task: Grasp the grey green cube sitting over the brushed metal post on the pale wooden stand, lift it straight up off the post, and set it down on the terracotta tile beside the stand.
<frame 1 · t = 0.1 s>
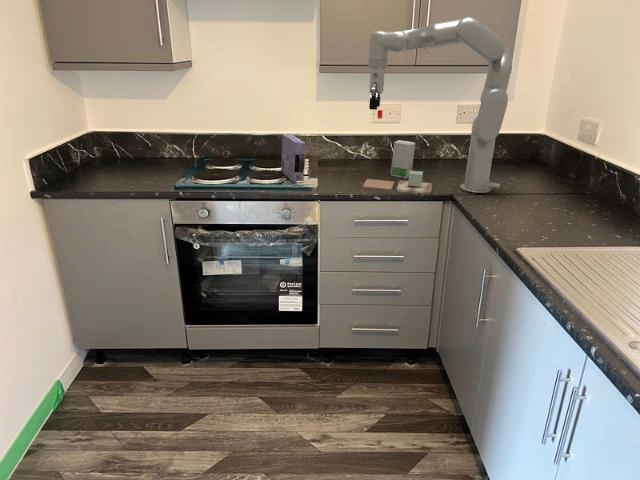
hand: (374, 107, 206), 31 cm above the worktop, tool pointing down, fingers open, 9 cm apart
skincare box: (401, 176, 227), on the worktop
grey green cube: (414, 184, 208), point 2 cm above the worktop, touching post stand
post stand: (414, 188, 209), on the worktop
terracotta tile: (378, 185, 212), on the worktop
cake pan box: (292, 178, 218), on the worktop
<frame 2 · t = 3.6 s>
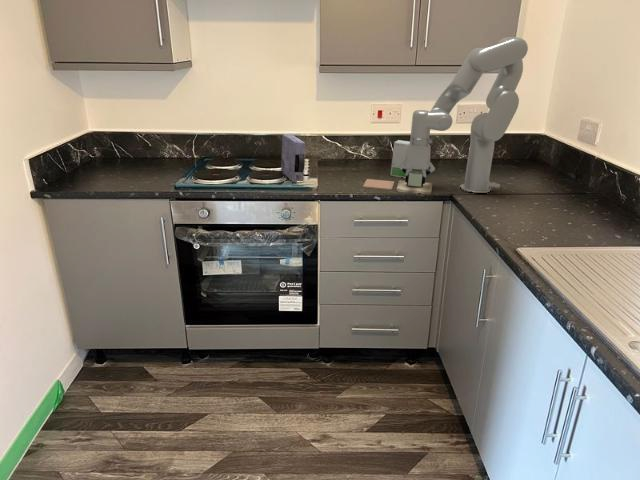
hand: (414, 184, 208), 2 cm above the worktop, tool pointing down, fingers closed on grey green cube, 5 cm apart
grey green cube: (414, 184, 208), point 2 cm above the worktop, touching gripper, post stand
everything else where it was.
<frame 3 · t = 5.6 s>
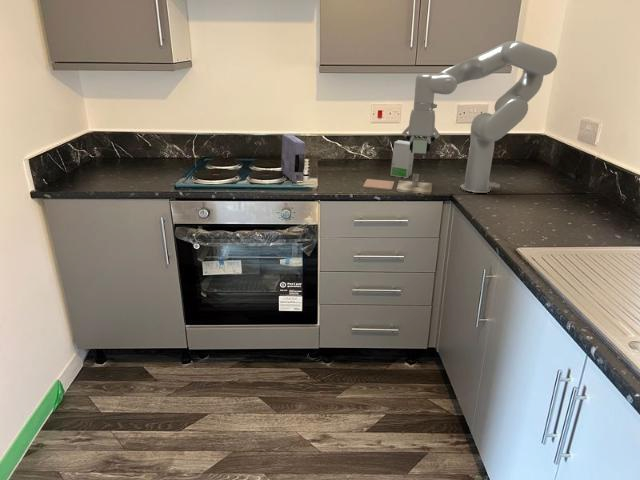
hand: (419, 151, 203), 15 cm above the worktop, tool pointing down, fingers closed on grey green cube, 5 cm apart
grey green cube: (419, 151, 203), point 16 cm above the worktop, touching gripper
everything else where it was.
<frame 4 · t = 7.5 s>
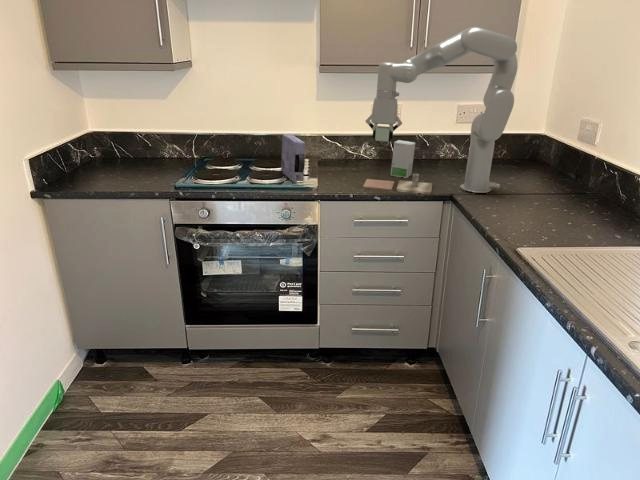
hand: (382, 140, 204), 19 cm above the worktop, tool pointing down, fingers closed on grey green cube, 5 cm apart
grey green cube: (382, 139, 204), point 19 cm above the worktop, touching gripper
everything else where it was.
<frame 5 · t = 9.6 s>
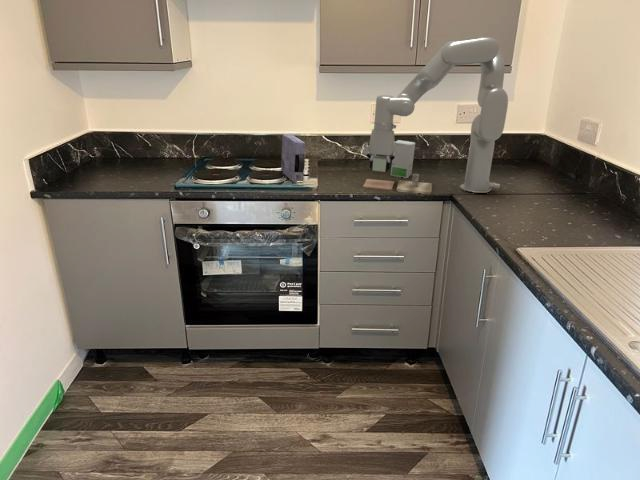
hand: (379, 170, 209), 7 cm above the worktop, tool pointing down, fingers closed on grey green cube, 5 cm apart
grey green cube: (379, 169, 209), point 7 cm above the worktop, touching gripper
everything else where it was.
when the fingers open (2 cm above the worktop, at t = 11.4 s): grey green cube drops 2 cm, resting on terracotta tile.
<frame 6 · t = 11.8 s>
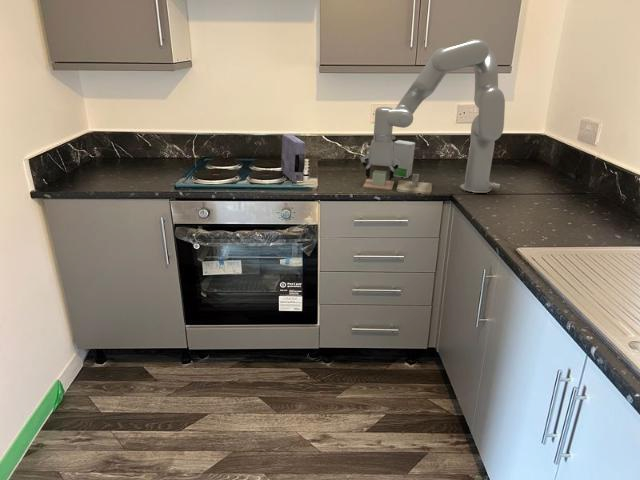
hand: (379, 178, 210), 3 cm above the worktop, tool pointing down, fingers open, 9 cm apart
grey green cube: (379, 183, 211), point 1 cm above the worktop, touching terracotta tile
everything else where it was.
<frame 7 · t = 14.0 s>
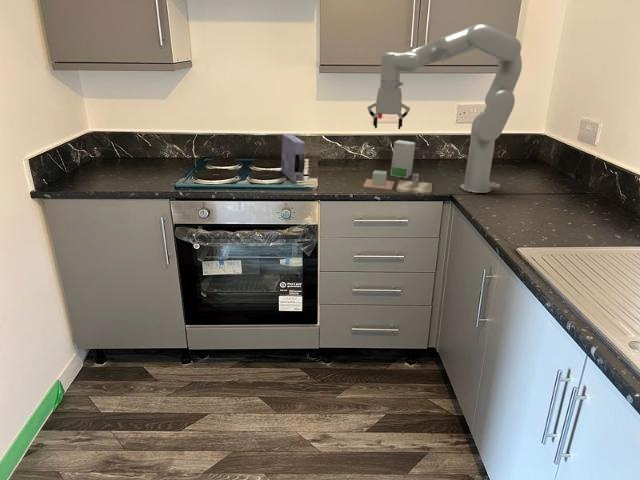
hand: (387, 128, 205), 24 cm above the worktop, tool pointing down, fingers open, 9 cm apart
nothing on the worktop moved.
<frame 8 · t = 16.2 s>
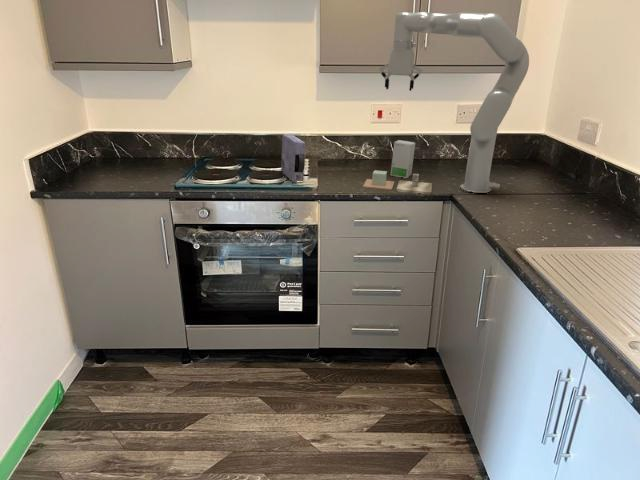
hand: (398, 89, 207), 38 cm above the worktop, tool pointing down, fingers open, 9 cm apart
nothing on the worktop moved.
at the end: grey green cube inside the target area on the terracotta tile (0.0 cm from its centre), point 0.6 cm above the terracotta tile's base; grey green cube tilted 0°; the gripper is holding nothing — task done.
